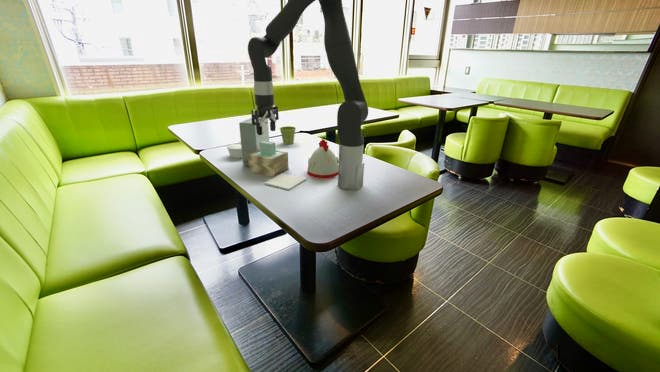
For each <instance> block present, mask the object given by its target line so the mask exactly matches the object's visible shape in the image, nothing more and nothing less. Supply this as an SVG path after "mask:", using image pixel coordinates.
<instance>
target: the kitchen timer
mask: <svg viewBox="0 0 660 372" xmlns="http://www.w3.org/2000/svg"><path fill="white" fill-rule="evenodd" d="M318 146H319V147H318V148H316V149H315V150H314V151H313V152H312V154H311V156H310V157H308V162H307V164H308V166H307V175H308V176H310V177H312V178H315V179H322V180H323V179H324V180H325V179H331V178H332V179H333V178H336V177H338V167H339V156H336V154H335V153H334V152H333V151H332V150H331V148H329V147H330V145H329V144H328V141H326V139H324V138H322V139H321V140H320V141H319V142H318Z"/></svg>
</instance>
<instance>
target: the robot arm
mask: <svg viewBox="0 0 660 372" xmlns="http://www.w3.org/2000/svg"><path fill="white" fill-rule="evenodd" d="M315 1H316V0H288V1H287V2H286V4H285V5H284V6H283V7H282V9H281V10H280V11H279V12H278V13H277V15H275V17H274V18H273V19H272V20H271V21H270V22H269V23H268V24H267V26H266V28H265V33H266V34H265V35H264V36H263V37H259V36H254V37H252V38H250V39H249V41H248V44H247V52H248V57H249V60H250V63H251V67H252V71H253V82H254V83H253V91H254V104H255V106H256V109H251V113H250V114H251V118H252V125H256V130H257V134H258V135H262V123H263V122H264V120H265V119H267V118H268V121H270V122H269V127H270V128H269V129H270V132H276V130H277V129H276V122H277V121H278V120H279V119H280V117H279V108H278V107H279V106H277V105H275V99H274V97H275V96H274V85H273V72H272V67H271V66H270V65H269V64H267V60H266V59H267V58H270V57H271V56H273V55H274V54H275V53H276V51H277V50H278V49H279V47H280V46H281V43H282V41H284V40H285V39H286V37H288V36H289V35H290V34H291V33H292V31H293V30H294V29H295V28H296V26H297V24H298V22H299V19H300V18H301V16H302V14H303V13H304V11H306V9H307V8H308V7H309V6H310V5H311V4H313V3H314V2H315ZM318 3H319V5H320V8H321V9H320V10H321V12H322V15H323V20H324V21H323V22H324V36H323V37H324V38H323V40H324V41H323V43H324V44H323V45H324V50H325V54H326V59H327V61H328V65H329V67H330V70H331V72H332V73H333V74H334V77H335V78H336V79H337V81H338V83H339V85H340V86H341V87H340V88H341V91H342V94H343V98H344V101H343V102H342V103H341V104H340V105H339V106H338V110H337V113H336V114H337V116H336V123H337V126H336V129H337V132H336V133H337V137H338V161H339V163H338V165H339V167H338V175H337V177H338V178H337V185H338V187H339V188H341V189H344V190H350V191H353V190H355V191H358V190H359V189H360V188H361V187H362V186H364V173H365V162H363V161H364V160H363V159H364V143H365V137H364V135H362V123H364V122H365V121H366V120H367V118H368V115H369V106H368V103H367V100H366V97H365V94H364V91H363V88H362V86H361V85H362V84H361V81H360V77H359V72H358V71H359V70H358V67H357V63H356V58H355V54H354V49H353V44H352V39H351V35H350V33H349V29H348V24H347V21H346V16H345V13H344V7H343V2H342V0H318ZM255 120H256V122H255ZM259 121H260V123H259Z"/></svg>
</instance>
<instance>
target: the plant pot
mask: <svg viewBox="0 0 660 372" xmlns="http://www.w3.org/2000/svg"><path fill="white" fill-rule="evenodd" d="M279 130H280V133H281V138H282V143H283V144H285V145H291V144H294V141H295V135H296V134H295V133H296V130H297V127H295V126H281V127H279Z"/></svg>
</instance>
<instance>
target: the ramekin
mask: <svg viewBox="0 0 660 372" xmlns="http://www.w3.org/2000/svg"><path fill="white" fill-rule="evenodd" d="M227 151H228V153H229V157H231V158H232V159H242V149H241V142H237V143H232V144H229V145H227Z"/></svg>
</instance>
